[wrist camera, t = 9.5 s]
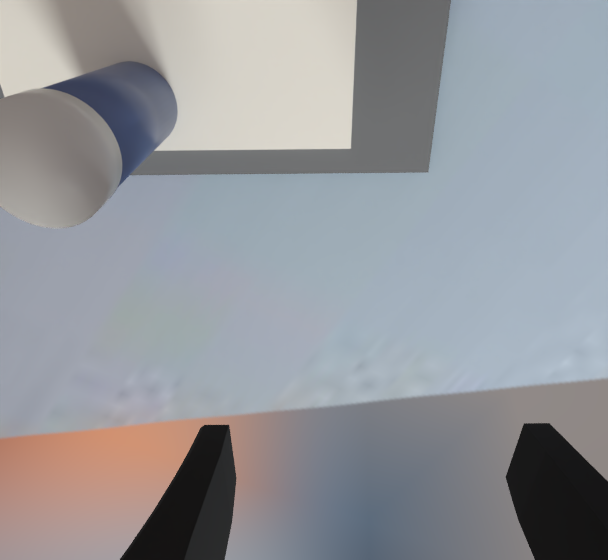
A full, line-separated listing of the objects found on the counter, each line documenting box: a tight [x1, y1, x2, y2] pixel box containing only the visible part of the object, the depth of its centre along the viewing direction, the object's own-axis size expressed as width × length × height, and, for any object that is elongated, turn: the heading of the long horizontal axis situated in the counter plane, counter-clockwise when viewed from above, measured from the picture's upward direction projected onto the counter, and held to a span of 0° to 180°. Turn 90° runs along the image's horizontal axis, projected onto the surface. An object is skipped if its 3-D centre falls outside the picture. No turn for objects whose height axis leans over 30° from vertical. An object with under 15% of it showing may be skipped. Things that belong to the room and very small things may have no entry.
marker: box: [0, 61, 178, 228], centre depth 13 cm, size 3×3×7 cm
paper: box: [0, 0, 357, 151], centre depth 15 cm, size 12×8×1 cm, turn 91°
